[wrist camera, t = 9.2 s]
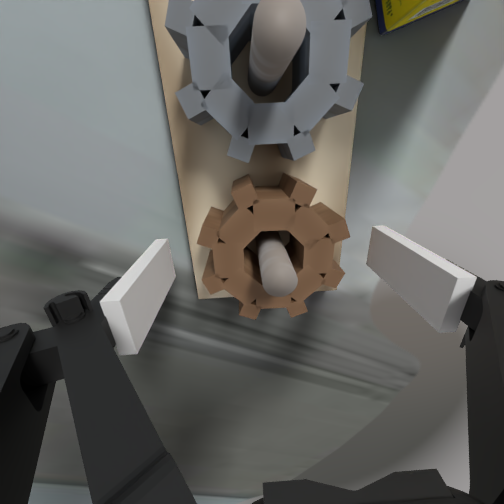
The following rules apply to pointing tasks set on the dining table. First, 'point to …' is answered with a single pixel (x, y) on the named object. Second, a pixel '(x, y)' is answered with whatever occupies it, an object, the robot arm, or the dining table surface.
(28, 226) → the dining table surface
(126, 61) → the dining table surface
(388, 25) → the supplement box
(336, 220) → the walnut gear
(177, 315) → the dining table surface
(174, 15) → the gear board
